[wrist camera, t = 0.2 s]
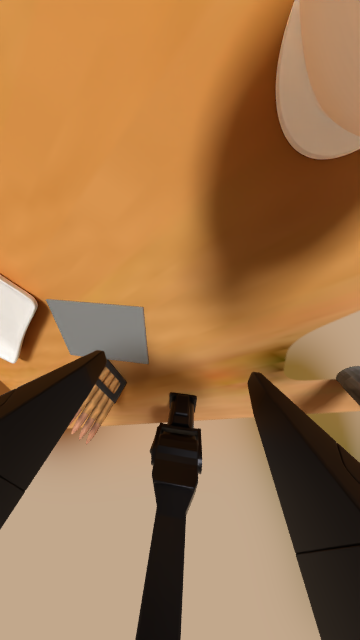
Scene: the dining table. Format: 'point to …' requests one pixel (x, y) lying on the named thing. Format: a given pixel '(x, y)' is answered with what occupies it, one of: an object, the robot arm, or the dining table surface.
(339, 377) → the beverage cup
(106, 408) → the ammunition clip
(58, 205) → the dining table surface
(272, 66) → the dining table surface
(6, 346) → the salad plate
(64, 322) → the mat
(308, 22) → the decorative vase
